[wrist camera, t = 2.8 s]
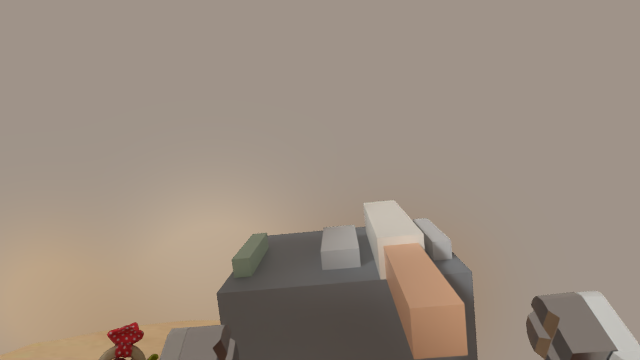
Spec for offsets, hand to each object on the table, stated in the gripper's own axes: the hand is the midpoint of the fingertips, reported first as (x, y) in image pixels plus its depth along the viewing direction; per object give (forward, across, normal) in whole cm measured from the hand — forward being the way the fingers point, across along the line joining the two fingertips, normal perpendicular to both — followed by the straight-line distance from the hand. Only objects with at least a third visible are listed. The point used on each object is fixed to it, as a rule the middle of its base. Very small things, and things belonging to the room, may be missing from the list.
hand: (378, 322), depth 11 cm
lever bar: (+14, -3, +14) cm, 20 cm away
